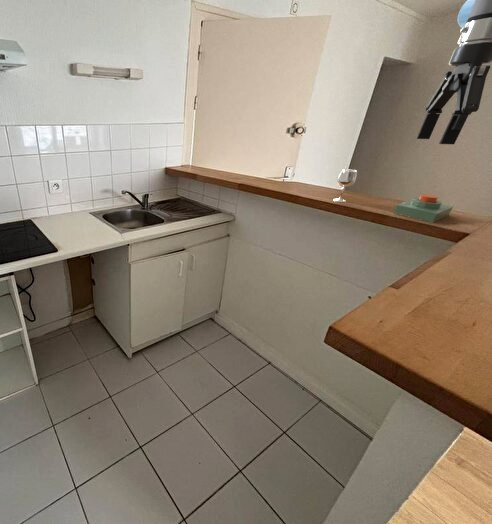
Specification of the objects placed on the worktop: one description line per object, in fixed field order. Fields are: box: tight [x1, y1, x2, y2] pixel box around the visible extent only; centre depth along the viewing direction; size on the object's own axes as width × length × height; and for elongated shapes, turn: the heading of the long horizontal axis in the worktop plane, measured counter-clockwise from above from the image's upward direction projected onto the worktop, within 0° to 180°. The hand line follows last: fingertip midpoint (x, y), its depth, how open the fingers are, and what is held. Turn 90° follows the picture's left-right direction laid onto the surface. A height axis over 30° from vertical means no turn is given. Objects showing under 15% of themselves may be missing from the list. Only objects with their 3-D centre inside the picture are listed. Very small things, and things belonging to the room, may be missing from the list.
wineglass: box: [333, 168, 358, 203], centre depth 112 cm, size 6×6×12 cm
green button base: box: [392, 197, 454, 223], centre depth 98 cm, size 14×11×5 cm
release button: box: [418, 193, 439, 203], centre depth 97 cm, size 4×4×2 cm
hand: (433, 141), depth 77 cm, fingers open, 13 cm apart
